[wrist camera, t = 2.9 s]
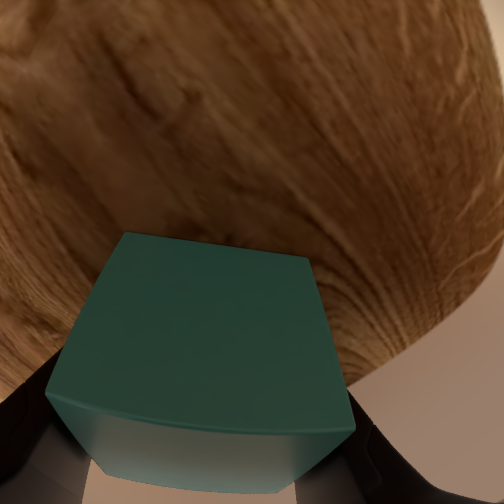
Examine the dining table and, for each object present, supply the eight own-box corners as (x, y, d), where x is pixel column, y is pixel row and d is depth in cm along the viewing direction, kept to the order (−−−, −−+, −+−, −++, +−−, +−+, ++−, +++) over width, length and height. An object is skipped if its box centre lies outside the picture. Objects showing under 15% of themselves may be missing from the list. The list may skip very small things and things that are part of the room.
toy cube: (268, 366, 11) (278, 493, 7) (134, 349, 10) (105, 474, 6) (309, 256, 8) (358, 429, 4) (124, 230, 8) (42, 392, 3)
